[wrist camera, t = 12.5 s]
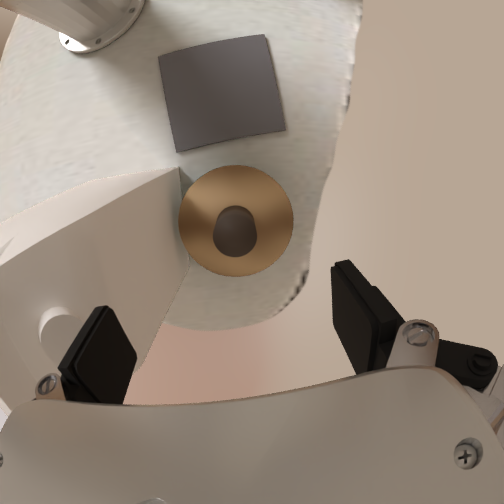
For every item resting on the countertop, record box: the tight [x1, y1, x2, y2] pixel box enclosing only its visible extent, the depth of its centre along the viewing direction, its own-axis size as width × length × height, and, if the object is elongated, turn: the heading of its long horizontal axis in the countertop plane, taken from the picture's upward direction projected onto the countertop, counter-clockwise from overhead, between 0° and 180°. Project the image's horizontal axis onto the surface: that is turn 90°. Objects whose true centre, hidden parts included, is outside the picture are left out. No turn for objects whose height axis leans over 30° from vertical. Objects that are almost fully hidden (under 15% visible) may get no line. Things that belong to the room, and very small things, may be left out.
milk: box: [0, 167, 190, 417], centre depth 18 cm, size 12×12×26 cm
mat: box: [158, 34, 286, 152], centre depth 25 cm, size 12×12×1 cm
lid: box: [178, 165, 293, 277], centre depth 24 cm, size 11×11×5 cm
